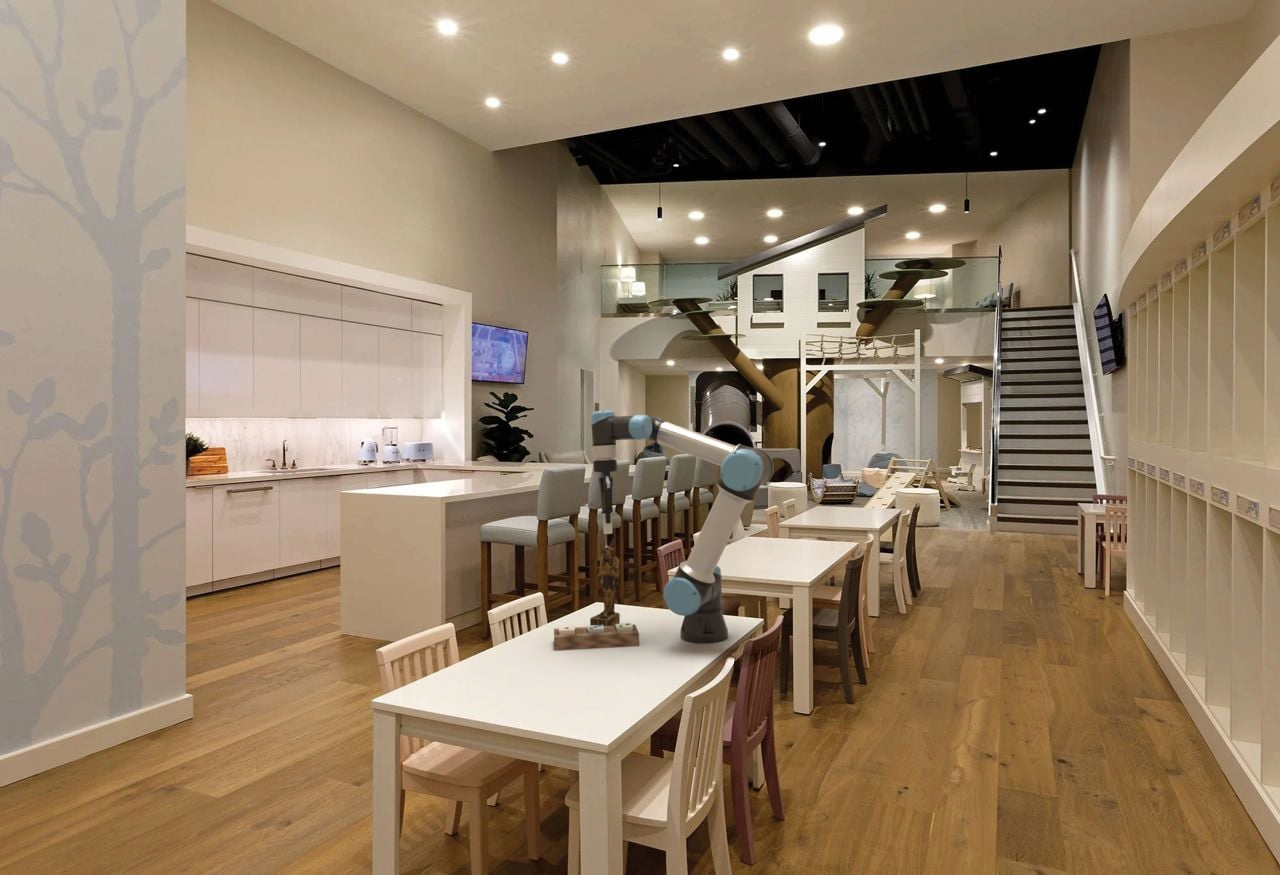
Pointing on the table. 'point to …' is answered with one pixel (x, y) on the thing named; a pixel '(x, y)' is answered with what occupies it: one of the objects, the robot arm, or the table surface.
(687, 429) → the robot arm
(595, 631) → the button
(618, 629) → the pale green block
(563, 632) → the button
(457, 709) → the table surface
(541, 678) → the table surface
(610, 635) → the wooden tray
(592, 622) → the statue
